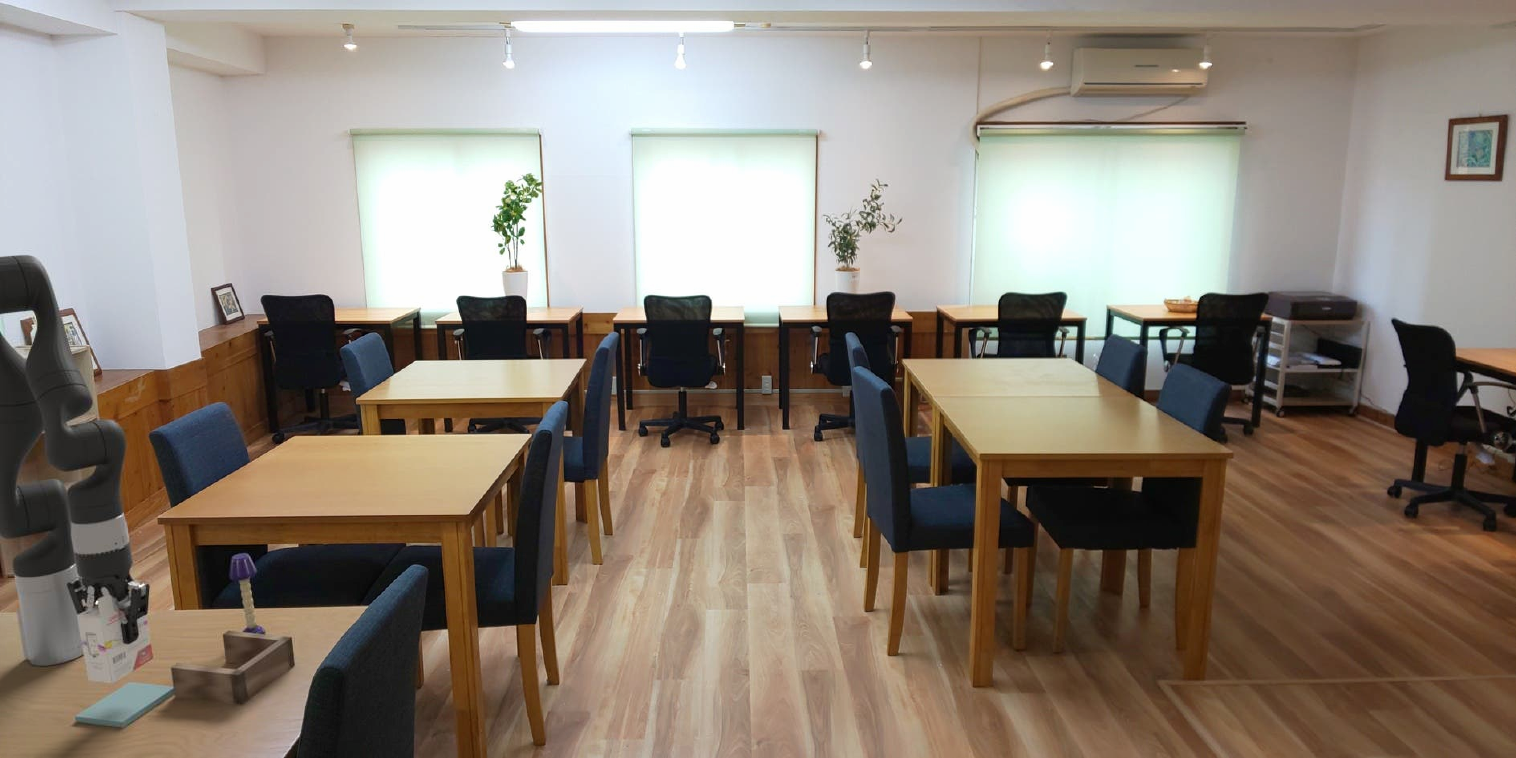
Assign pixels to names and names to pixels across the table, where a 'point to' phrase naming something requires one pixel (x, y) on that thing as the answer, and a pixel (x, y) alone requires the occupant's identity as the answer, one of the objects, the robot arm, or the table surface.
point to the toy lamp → (245, 588)
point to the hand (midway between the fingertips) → (116, 639)
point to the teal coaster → (125, 704)
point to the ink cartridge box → (111, 642)
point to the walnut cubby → (260, 668)
